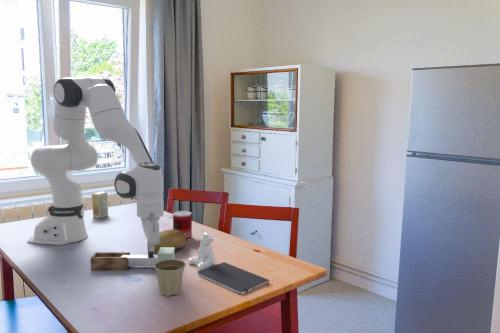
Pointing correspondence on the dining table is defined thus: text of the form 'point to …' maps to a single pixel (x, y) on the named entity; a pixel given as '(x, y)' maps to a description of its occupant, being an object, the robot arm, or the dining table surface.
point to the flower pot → (170, 276)
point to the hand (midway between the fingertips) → (150, 249)
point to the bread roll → (171, 239)
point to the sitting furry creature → (204, 253)
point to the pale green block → (166, 253)
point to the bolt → (141, 259)
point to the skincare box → (100, 204)
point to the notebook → (232, 277)
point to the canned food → (183, 223)
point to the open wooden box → (109, 261)
